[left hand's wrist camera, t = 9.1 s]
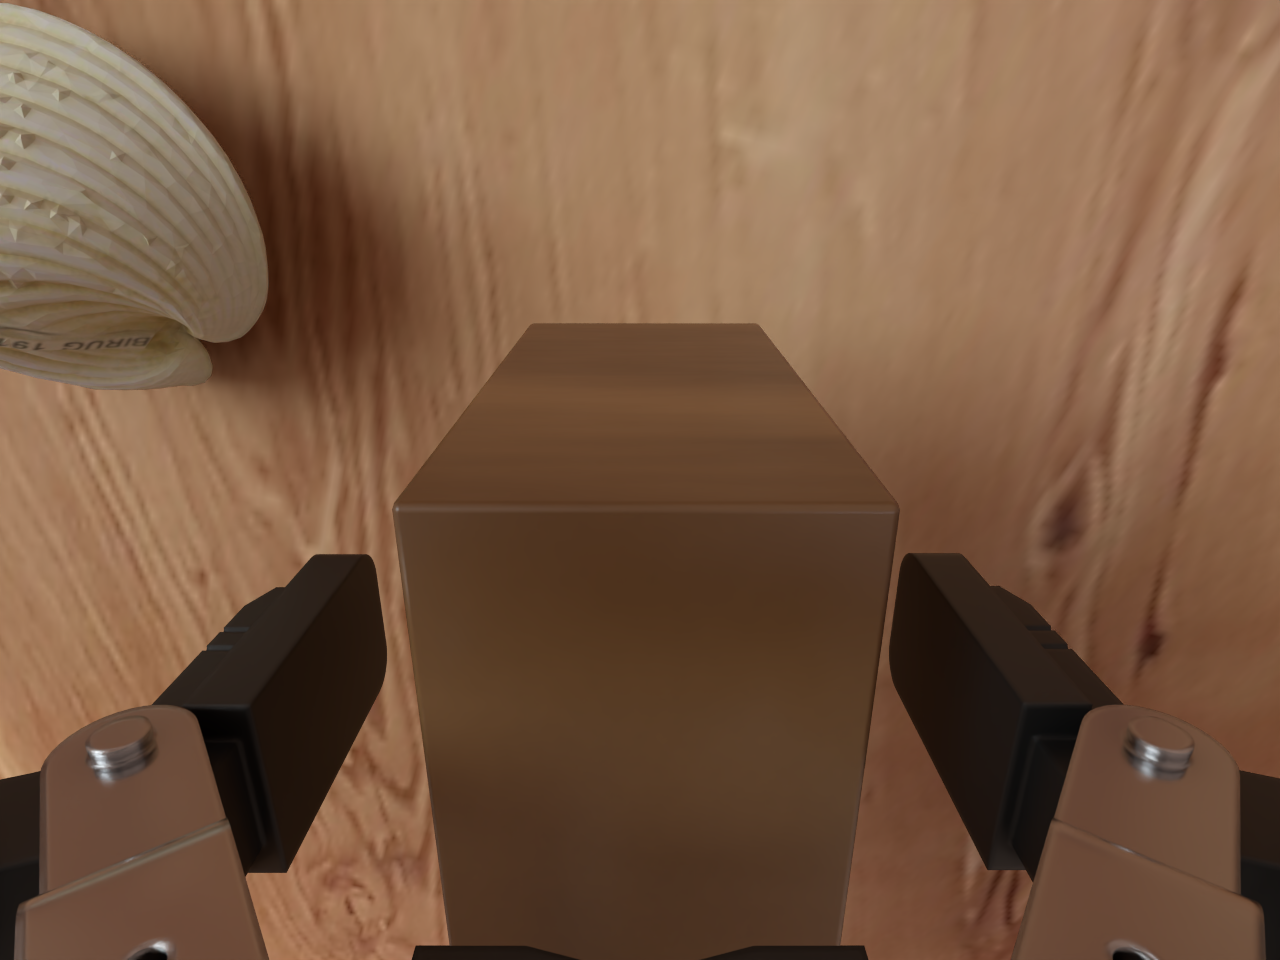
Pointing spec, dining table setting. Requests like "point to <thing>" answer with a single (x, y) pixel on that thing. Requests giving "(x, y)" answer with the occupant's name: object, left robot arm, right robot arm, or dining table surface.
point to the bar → (645, 645)
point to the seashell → (113, 218)
